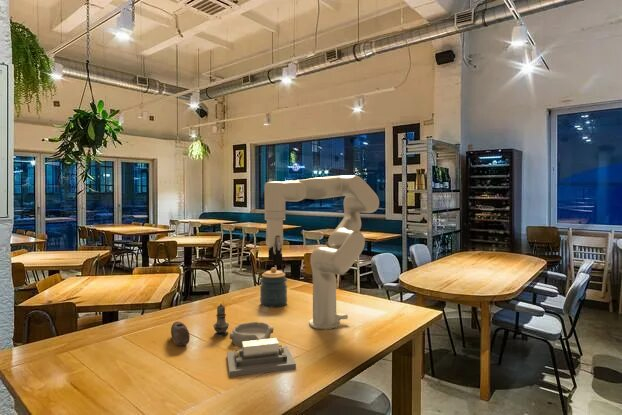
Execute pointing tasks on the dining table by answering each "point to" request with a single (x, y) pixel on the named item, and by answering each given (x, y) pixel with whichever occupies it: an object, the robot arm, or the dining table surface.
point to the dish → (250, 332)
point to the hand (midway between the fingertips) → (275, 262)
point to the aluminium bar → (260, 348)
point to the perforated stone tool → (180, 334)
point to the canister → (273, 288)
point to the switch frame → (259, 363)
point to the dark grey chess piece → (221, 322)
